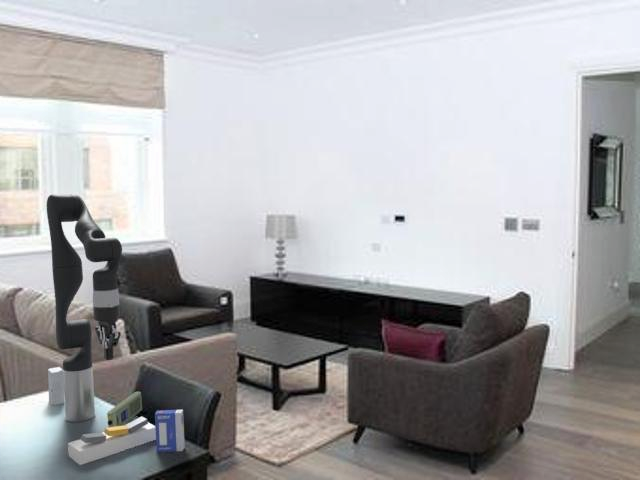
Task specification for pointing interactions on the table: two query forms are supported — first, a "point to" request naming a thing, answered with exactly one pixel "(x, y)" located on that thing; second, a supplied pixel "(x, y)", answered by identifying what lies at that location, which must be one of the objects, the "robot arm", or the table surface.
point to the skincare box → (56, 386)
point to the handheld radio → (125, 410)
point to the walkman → (169, 430)
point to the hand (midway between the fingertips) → (109, 359)
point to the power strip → (110, 444)
